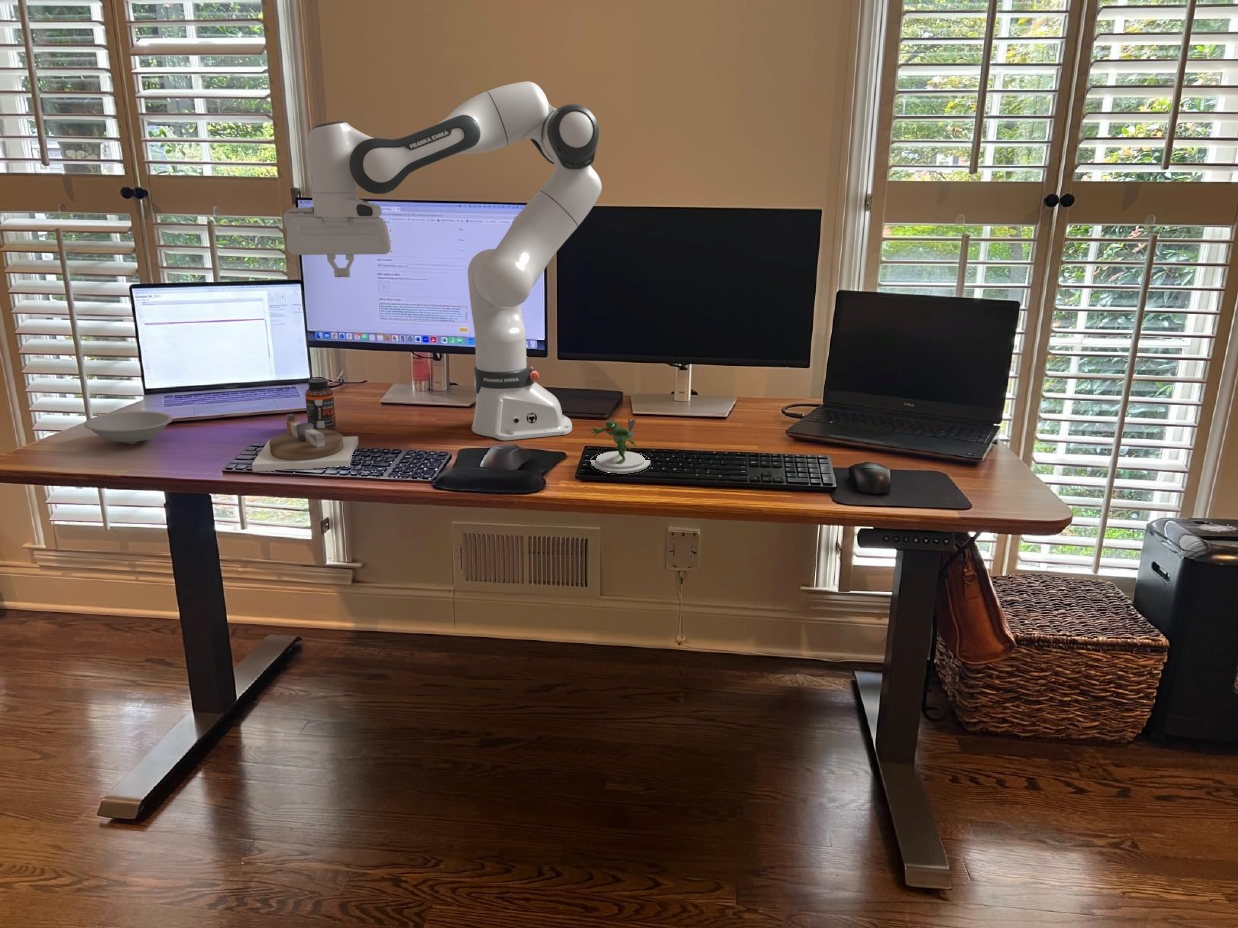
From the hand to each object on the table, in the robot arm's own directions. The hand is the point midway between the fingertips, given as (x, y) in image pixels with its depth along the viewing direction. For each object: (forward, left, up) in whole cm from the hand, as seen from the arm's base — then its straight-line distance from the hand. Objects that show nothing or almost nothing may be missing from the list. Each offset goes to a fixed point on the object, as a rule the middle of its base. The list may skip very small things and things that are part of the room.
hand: (342, 277), depth 183 cm
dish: (+46, 0, -34) cm, 57 cm away
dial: (+8, +14, -32) cm, 36 cm away
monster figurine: (-54, +28, -34) cm, 70 cm away
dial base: (+8, +14, -34) cm, 38 cm away
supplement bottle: (+8, -5, -34) cm, 36 cm away
